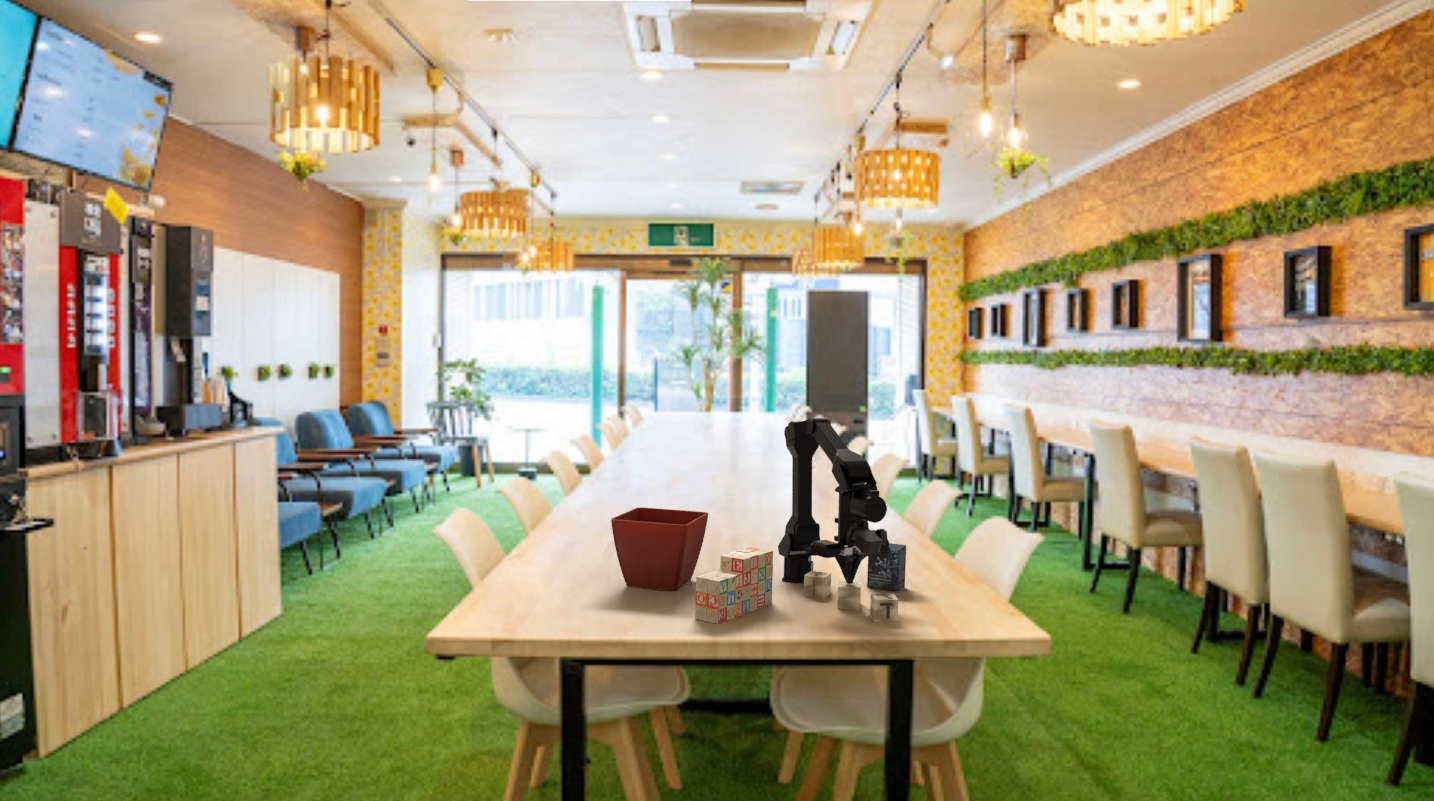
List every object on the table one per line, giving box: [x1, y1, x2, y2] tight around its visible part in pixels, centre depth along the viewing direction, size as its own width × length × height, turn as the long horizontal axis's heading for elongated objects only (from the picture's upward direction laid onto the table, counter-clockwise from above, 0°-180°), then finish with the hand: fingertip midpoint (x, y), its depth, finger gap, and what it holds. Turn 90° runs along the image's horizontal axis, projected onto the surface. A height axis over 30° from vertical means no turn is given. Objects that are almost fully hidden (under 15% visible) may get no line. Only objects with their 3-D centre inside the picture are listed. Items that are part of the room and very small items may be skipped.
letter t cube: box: [869, 592, 899, 623], centre depth 205 cm, size 5×5×5 cm
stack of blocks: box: [694, 547, 774, 624], centre depth 209 cm, size 21×6×12 cm, turn 145°
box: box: [866, 542, 907, 593], centre depth 232 cm, size 8×6×11 cm
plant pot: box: [610, 506, 709, 592], centre depth 232 cm, size 19×19×17 cm
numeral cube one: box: [803, 570, 832, 599], centre depth 224 cm, size 5×5×5 cm
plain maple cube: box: [836, 580, 862, 611], centre depth 215 cm, size 5×5×5 cm
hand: (849, 583), depth 214 cm, fingers closed
